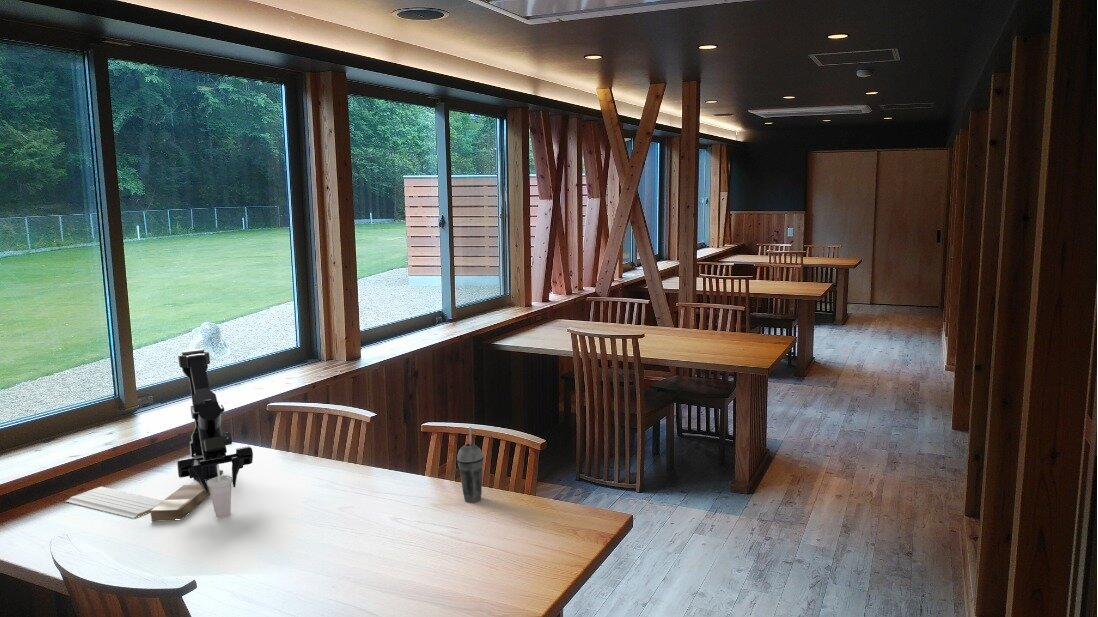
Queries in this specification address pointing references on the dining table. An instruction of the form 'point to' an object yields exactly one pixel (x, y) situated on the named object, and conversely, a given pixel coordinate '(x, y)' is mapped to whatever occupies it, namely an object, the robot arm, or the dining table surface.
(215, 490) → the smoothie
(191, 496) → the beam
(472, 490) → the beverage cup
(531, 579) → the dining table surface
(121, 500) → the baseboard molding
